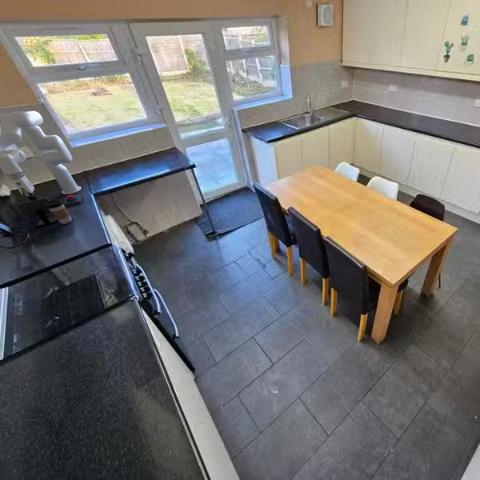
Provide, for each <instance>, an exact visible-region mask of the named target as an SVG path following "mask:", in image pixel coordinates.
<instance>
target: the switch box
mask: <svg viewBox="0 0 480 480" xmlns="http://www.w3.org/2000/svg"><path fill="white" fill-rule="evenodd" d="M73 196H74V198H72V199H68V198H67V197H65V199H64V202H63V205H64V206H65V208H69V207H72V206H76V205H80V204H82V196H81V195H76V194H75V195H73Z"/></svg>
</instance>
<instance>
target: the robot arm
mask: <svg viewBox="0 0 480 480" xmlns="http://www.w3.org/2000/svg"><path fill="white" fill-rule="evenodd" d="M43 119H44V118H43V116H42V115H41V113H39V112H38V111H36V110H26V111H25V110H23V111H13V112H12V111H11V112H8V113H4V114H2V115H1V116H0V170H1V171H2V172H3V173H4V175H5V176H6V177H7V178H8V180H9V181H12V183H13V185H14V186H15V187H16V189H17V190H18V191H19V193H20V194H21V195H25V196H26V198H28V200H29V201H31V200H36V199H38V197H37V196H36V195H35V192H34V191H35V186H34V185H33V184H32V183H31V181H30V180H29V178H28V177H27V176H26V173H25V172H24V171H23V170H22V168H21V167H20V165H19V164H20V163H23V162H25V161H26V159H27V155H26V153H25V152H24V151H23V150H21V149H7V148H9V147H10V146H13V145H15V144H17V143H19V142H21V140H22V138H23V135H22V131H24V133H26V135H27V137H28V138H29V140H30V141H31V142H32V144H33V145H34V147H35V148H36V149H37V150H39V151H43V152H42V153H40V154H39V159H40V160H41V162H42V163H43V164H44V165H45V167H47V169H48V170H49V171H50V173H51V174H52V176H53V177H54V179H55V180H56V182H57V183H58V185H59V187H60V188H61V189H62V190H61V194H62V195H73V194H76V193H78V192H80V191H81V190H82V186H79V185H78V184H77V182H76V181H75V179H74V178H73V176H72V175H71V172H70V171H69V169H68V168H67V167H66V166H64V165H63V164H70V163H73V156H72V154H71V152H70V151H69V149H68V147H67V146H66V144H65V142H64V141H63V139H62V138H61V137H60V136H58V135H56V134H47V135H46V134H45V133H44V131H43V130H42V128H41V127H40V126H41V125H42V124H43V123H44V120H43ZM6 149H7V150H6Z"/></svg>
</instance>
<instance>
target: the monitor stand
mask: <svg viewBox="0 0 480 480" xmlns="http://www.w3.org/2000/svg"><path fill="white" fill-rule="evenodd" d="M35 212H36V213H37V215H38V216H37V217H38V218H39V219H40V220H38V222H37V225H36V226H37V227H38V228H39V227H44V226H48V225H51V224H56V223H58V222H59V220H58V219H57V218H56V217H55V216H53V217H48V215H47V214H45V213H44V211H43V210H42V209H37V210H35Z"/></svg>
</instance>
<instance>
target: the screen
mask: <svg viewBox="0 0 480 480" xmlns="http://www.w3.org/2000/svg"><path fill="white" fill-rule="evenodd" d="M49 201H50V198H48V196H47V197H46V196H45V197H41V198H37V199H36V200H31V201H30V200H27V201H22V202H19V203H18V204H17V206H19V208H20V209H21V211H22V212H23V213H24V214H25V216H27V218H28V219H30V218H34V217H39V216H38V215H37V213H36V212H35V210H37V209H42V210H43V211H44V213H45V214H46V215H47V214H52V213H51V212H50V210H49V209H48V208H47V207H46V203H47V202H49Z"/></svg>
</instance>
